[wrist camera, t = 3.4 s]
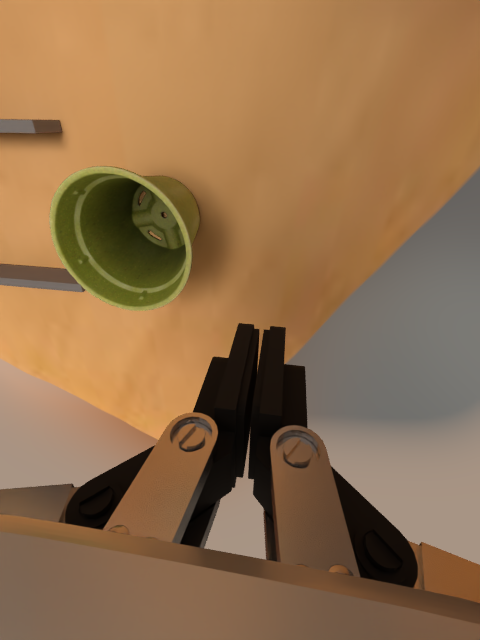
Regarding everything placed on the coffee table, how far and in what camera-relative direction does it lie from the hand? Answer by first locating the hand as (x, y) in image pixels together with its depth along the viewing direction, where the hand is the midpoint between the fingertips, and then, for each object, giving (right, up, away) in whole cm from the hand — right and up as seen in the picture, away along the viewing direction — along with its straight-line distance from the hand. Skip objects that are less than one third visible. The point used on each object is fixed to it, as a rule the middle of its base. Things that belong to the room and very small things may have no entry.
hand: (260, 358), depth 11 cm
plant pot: (-7, +11, +16) cm, 20 cm away
